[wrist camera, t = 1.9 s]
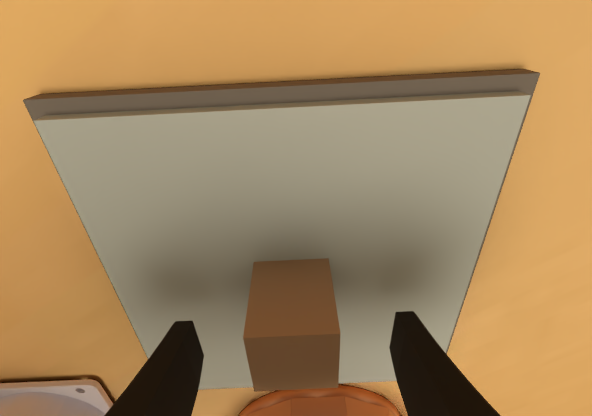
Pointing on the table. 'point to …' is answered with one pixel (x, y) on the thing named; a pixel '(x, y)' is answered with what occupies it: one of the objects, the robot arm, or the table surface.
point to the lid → (290, 224)
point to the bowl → (321, 403)
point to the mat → (288, 97)
